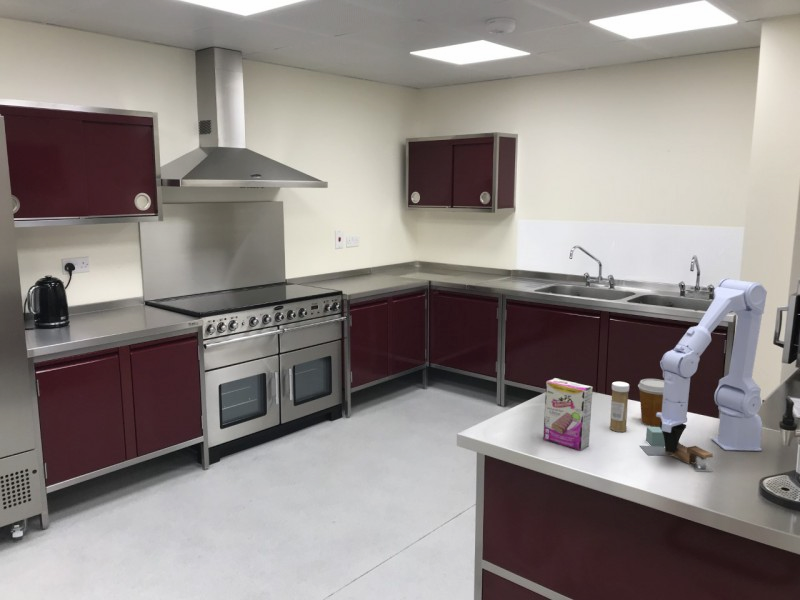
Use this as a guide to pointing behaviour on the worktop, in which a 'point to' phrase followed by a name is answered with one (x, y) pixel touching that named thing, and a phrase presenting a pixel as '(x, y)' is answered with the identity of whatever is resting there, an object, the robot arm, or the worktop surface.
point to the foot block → (655, 436)
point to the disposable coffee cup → (651, 400)
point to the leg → (689, 453)
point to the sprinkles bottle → (619, 406)
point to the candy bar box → (567, 413)
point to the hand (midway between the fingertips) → (670, 451)
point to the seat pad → (655, 450)
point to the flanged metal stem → (700, 464)
